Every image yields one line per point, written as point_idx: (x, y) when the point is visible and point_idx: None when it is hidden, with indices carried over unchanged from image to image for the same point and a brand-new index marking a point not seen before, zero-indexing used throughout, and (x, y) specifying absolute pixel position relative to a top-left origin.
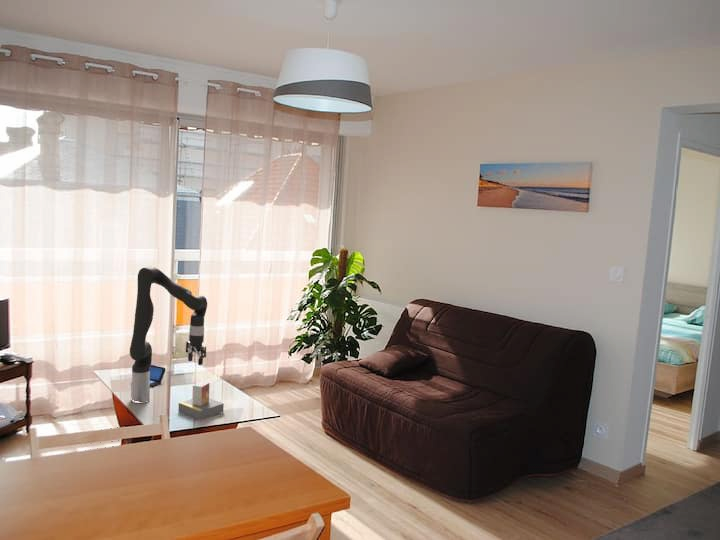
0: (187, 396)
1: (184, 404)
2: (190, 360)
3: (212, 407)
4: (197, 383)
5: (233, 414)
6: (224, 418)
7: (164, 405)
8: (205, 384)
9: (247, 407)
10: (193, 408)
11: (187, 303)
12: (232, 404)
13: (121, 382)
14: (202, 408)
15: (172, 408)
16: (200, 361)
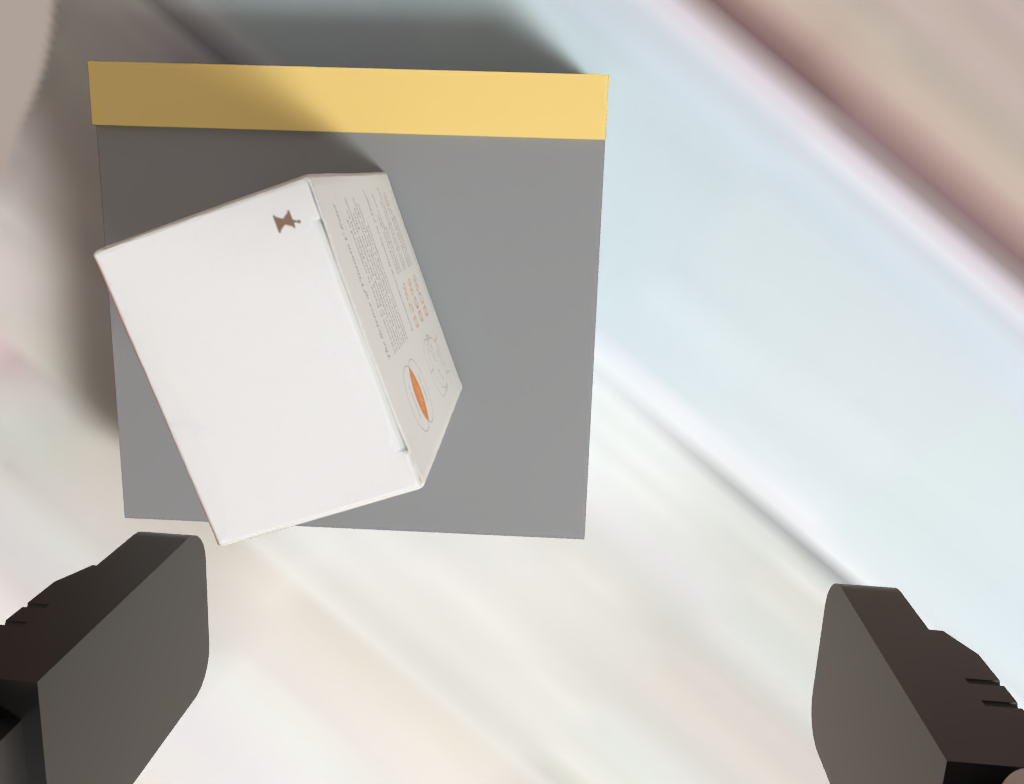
0: (971, 563)
1: (466, 79)
2: (830, 658)
3: (114, 316)
4: (372, 360)
5: (48, 510)
6: (10, 349)
7: (958, 123)
8: (183, 420)
9: None
10: (231, 65)
11: None
12: (320, 724)
13: None
14: (156, 173)
15: (776, 124)
16: (13, 629)
